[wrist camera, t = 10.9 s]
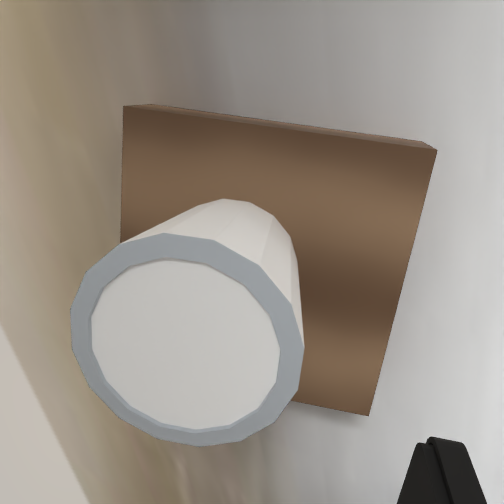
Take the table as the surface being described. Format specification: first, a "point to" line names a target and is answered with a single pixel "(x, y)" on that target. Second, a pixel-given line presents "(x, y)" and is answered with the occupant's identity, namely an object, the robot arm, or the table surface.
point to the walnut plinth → (296, 221)
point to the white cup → (194, 325)
